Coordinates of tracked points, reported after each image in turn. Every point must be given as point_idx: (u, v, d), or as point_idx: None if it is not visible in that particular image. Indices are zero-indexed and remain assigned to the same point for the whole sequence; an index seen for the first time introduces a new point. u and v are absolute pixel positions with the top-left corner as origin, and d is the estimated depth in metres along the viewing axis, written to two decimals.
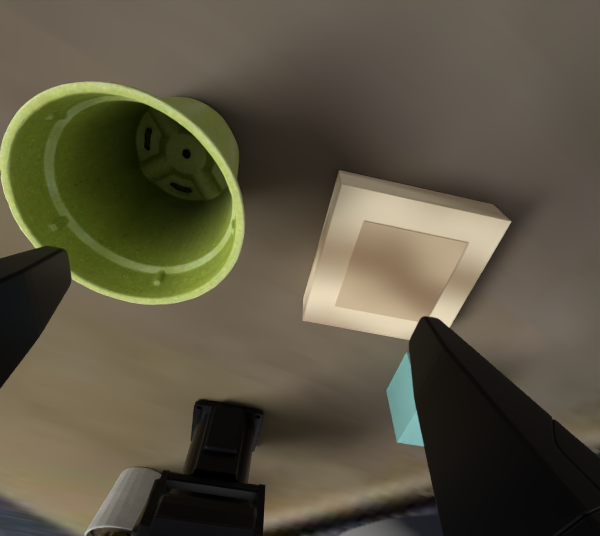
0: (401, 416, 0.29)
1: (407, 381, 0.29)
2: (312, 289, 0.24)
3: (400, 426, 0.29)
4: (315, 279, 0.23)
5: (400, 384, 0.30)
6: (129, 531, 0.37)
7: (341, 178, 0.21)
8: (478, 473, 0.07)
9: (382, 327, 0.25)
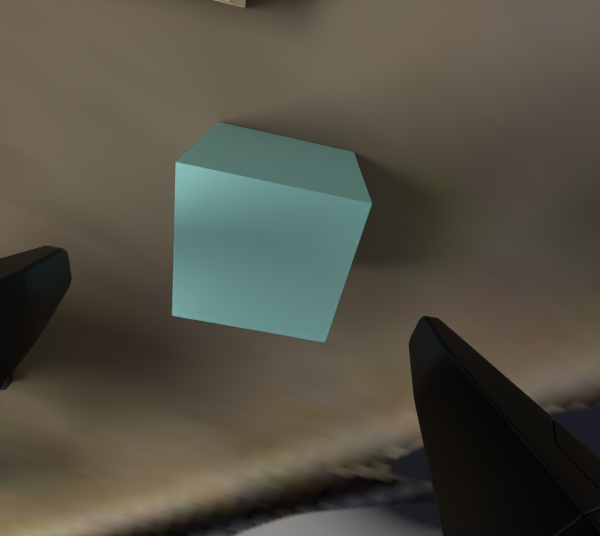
0: None
1: None
2: None
3: None
4: None
5: None
6: None
7: None
8: (478, 473, 0.07)
9: None
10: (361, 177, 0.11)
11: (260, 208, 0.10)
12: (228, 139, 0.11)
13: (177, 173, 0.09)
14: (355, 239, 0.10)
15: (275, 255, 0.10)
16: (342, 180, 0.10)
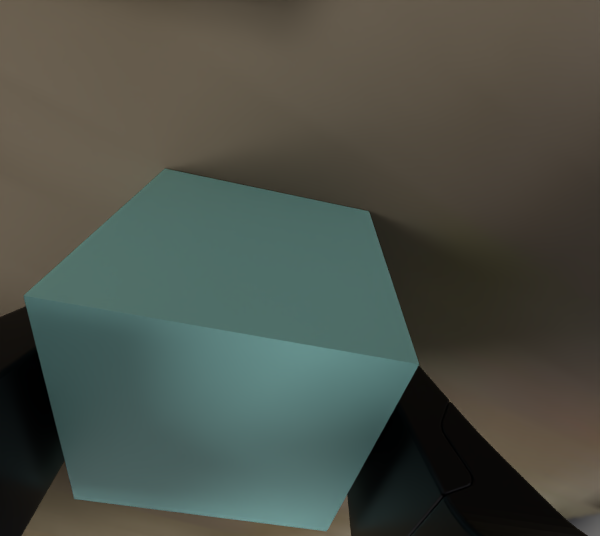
0: None
1: None
2: None
3: None
4: None
5: None
6: None
7: None
8: (375, 458, 0.06)
9: None
10: (388, 278, 0.07)
11: (204, 368, 0.05)
12: (166, 209, 0.07)
13: (32, 313, 0.05)
14: (383, 414, 0.05)
15: (238, 431, 0.06)
16: (358, 293, 0.06)
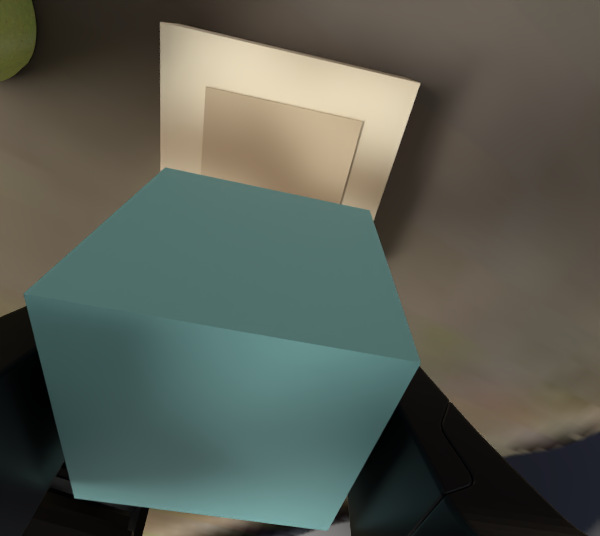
0: None
1: None
2: None
3: None
4: None
5: None
6: None
7: (170, 23, 0.14)
8: (375, 458, 0.06)
9: None
10: (389, 277, 0.06)
11: (205, 367, 0.05)
12: (167, 207, 0.07)
13: (32, 311, 0.05)
14: (384, 413, 0.05)
15: (239, 430, 0.06)
16: (359, 292, 0.06)
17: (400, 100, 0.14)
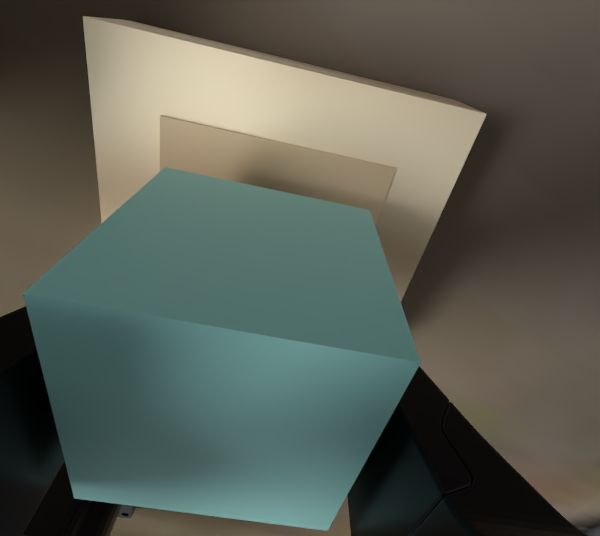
0: None
1: None
2: None
3: None
4: None
5: None
6: None
7: (106, 18, 0.09)
8: (375, 458, 0.06)
9: None
10: (389, 276, 0.06)
11: (204, 366, 0.05)
12: (166, 207, 0.07)
13: (32, 311, 0.05)
14: (384, 412, 0.05)
15: (239, 430, 0.06)
16: (359, 291, 0.06)
17: (454, 138, 0.10)
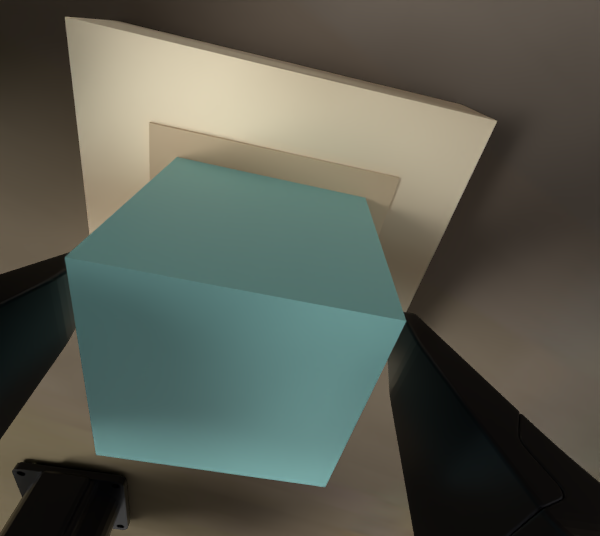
0: None
1: None
2: None
3: None
4: None
5: None
6: None
7: (91, 19, 0.09)
8: (445, 468, 0.07)
9: None
10: (381, 253, 0.07)
11: (218, 325, 0.06)
12: (180, 191, 0.08)
13: (71, 273, 0.05)
14: (375, 368, 0.06)
15: (247, 386, 0.06)
16: (354, 264, 0.07)
17: (462, 146, 0.09)
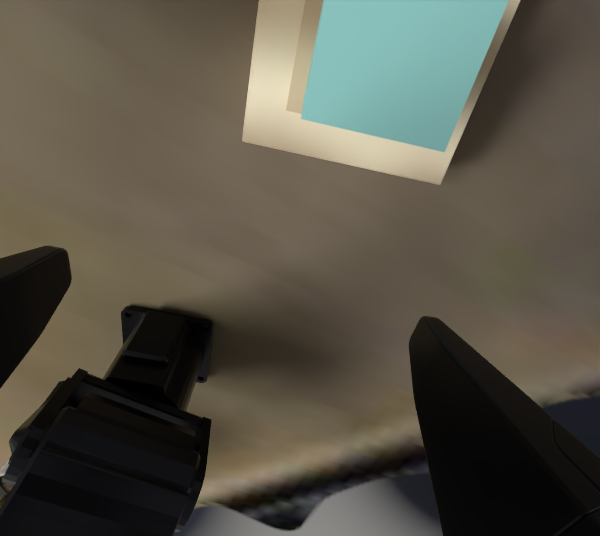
0: (312, 59, 0.12)
1: None
2: (250, 78, 0.16)
3: (308, 79, 0.12)
4: (253, 57, 0.15)
5: (318, 25, 0.13)
6: None
7: None
8: (478, 473, 0.07)
9: (358, 152, 0.17)
10: None
11: None
12: None
13: None
14: (498, 14, 0.10)
15: (417, 37, 0.11)
16: None
17: None
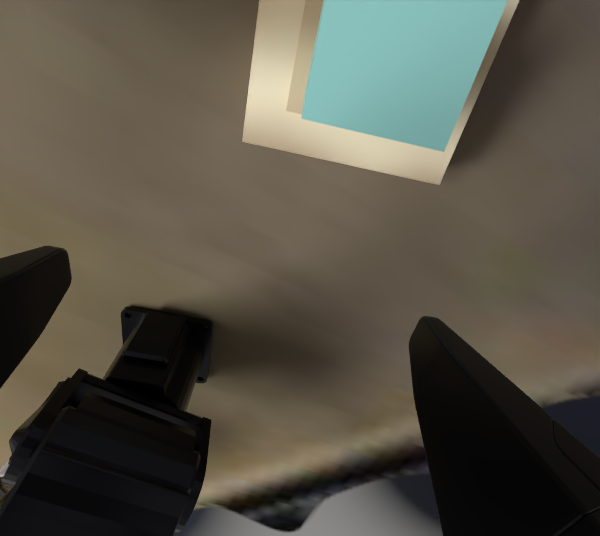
0: None
1: None
2: (251, 79, 0.16)
3: None
4: (253, 58, 0.16)
5: None
6: None
7: None
8: (478, 473, 0.07)
9: (357, 152, 0.18)
10: None
11: None
12: None
13: None
14: (497, 15, 0.10)
15: (416, 37, 0.11)
16: None
17: None
